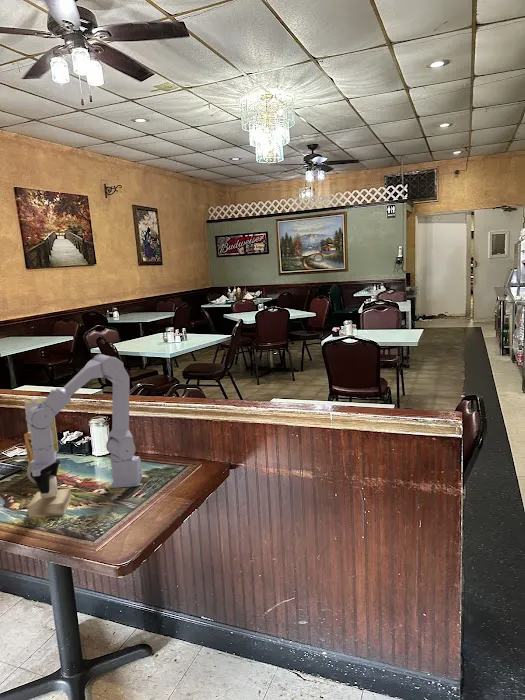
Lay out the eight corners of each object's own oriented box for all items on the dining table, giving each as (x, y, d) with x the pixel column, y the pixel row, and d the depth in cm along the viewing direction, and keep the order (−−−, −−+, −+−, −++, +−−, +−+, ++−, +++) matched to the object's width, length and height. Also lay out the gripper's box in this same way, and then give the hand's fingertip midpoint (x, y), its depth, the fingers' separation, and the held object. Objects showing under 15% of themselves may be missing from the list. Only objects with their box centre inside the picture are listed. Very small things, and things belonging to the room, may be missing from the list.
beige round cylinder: (60, 489, 152) (58, 474, 151) (55, 497, 147) (53, 481, 146) (43, 491, 151) (41, 476, 150) (38, 498, 146) (35, 483, 145)
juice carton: (28, 458, 192) (20, 399, 188) (41, 450, 200) (34, 393, 196) (49, 459, 190) (41, 399, 186) (61, 451, 198) (54, 394, 194)
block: (71, 500, 156) (70, 488, 155) (64, 515, 146) (62, 503, 145) (38, 503, 154) (37, 492, 153) (29, 519, 144) (27, 507, 144)
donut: (29, 489, 164) (25, 461, 162) (27, 486, 167) (24, 458, 165) (61, 481, 169) (57, 453, 168) (58, 477, 172) (55, 450, 171)
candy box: (56, 472, 177) (51, 432, 174) (47, 477, 173) (41, 436, 171) (38, 469, 180) (33, 430, 178) (28, 474, 177) (23, 433, 174)
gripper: (38, 438, 153) (44, 479, 156) (18, 456, 139) (25, 500, 141) (61, 437, 154) (66, 477, 156) (44, 454, 140) (50, 499, 142)
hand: (48, 488), depth 149 cm, fingers closed on beige round cylinder, 5 cm apart
